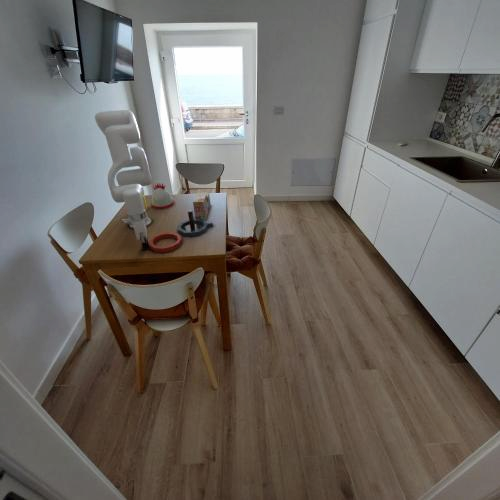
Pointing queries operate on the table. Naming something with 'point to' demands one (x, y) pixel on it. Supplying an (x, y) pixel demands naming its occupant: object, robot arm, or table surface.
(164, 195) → the white rounded dome
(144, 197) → the tape roll
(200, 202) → the stack of blocks
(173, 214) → the table surface
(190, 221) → the ring peg
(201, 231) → the slate ring
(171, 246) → the red ring
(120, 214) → the table surface
